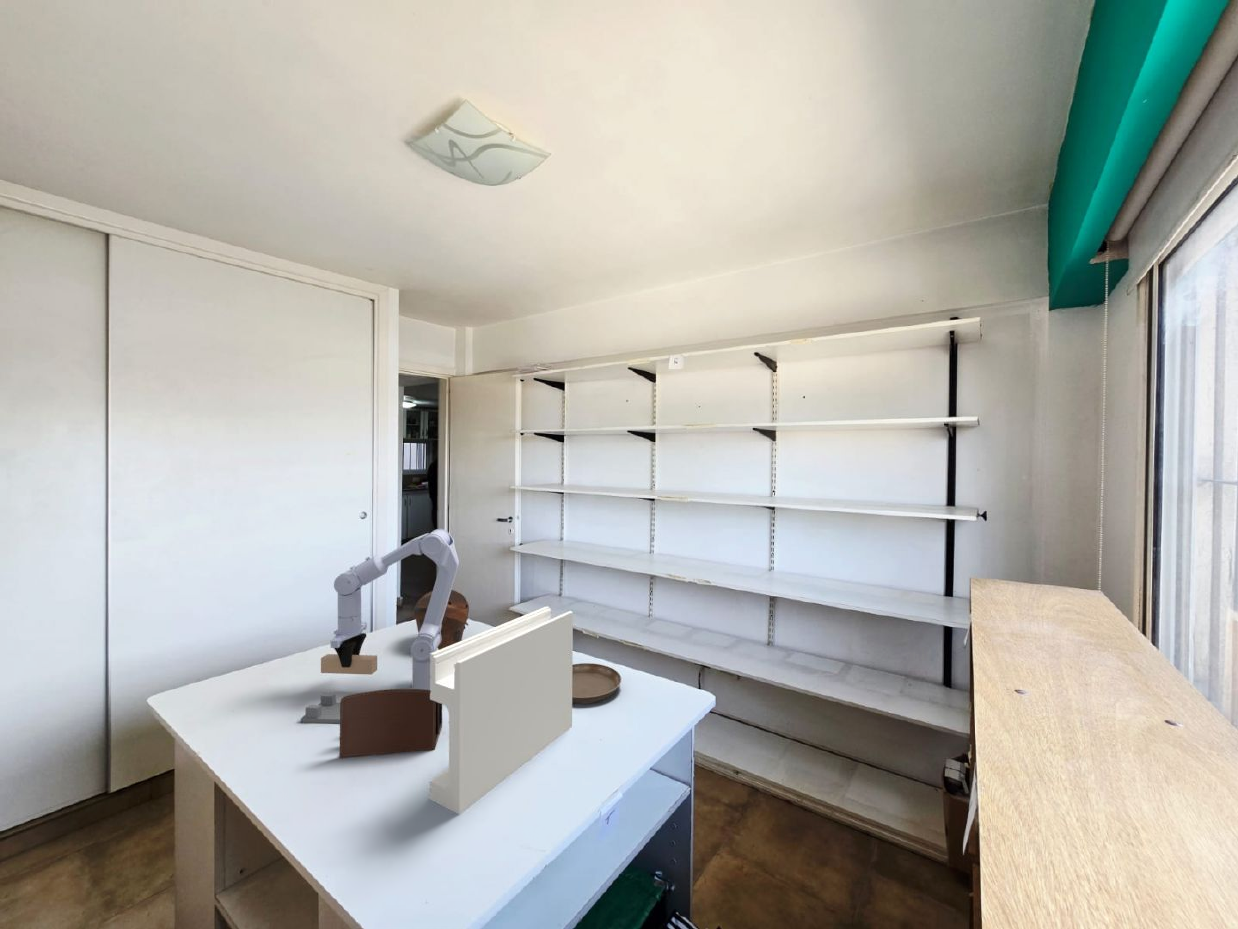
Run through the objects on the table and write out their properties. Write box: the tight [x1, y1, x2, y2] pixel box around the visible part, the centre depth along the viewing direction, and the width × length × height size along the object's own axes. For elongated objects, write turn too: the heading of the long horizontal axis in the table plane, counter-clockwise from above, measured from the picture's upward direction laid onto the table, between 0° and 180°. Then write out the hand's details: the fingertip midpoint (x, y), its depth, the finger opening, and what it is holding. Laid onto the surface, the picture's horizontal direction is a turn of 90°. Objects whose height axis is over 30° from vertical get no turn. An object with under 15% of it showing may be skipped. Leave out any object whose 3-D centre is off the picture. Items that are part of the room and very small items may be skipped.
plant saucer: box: [572, 662, 622, 705], centre depth 143 cm, size 21×21×3 cm
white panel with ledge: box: [429, 606, 574, 815], centre depth 110 cm, size 35×8×28 cm, turn 150°
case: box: [411, 589, 470, 650], centre depth 172 cm, size 18×20×18 cm
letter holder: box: [339, 688, 443, 759], centre depth 116 cm, size 10×20×14 cm, turn 100°
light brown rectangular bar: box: [320, 653, 378, 676], centre depth 139 cm, size 14×3×4 cm, turn 88°
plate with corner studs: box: [300, 692, 340, 724], centre depth 127 cm, size 16×8×4 cm, turn 88°
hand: (349, 664), depth 139 cm, fingers closed on light brown rectangular bar, 3 cm apart
